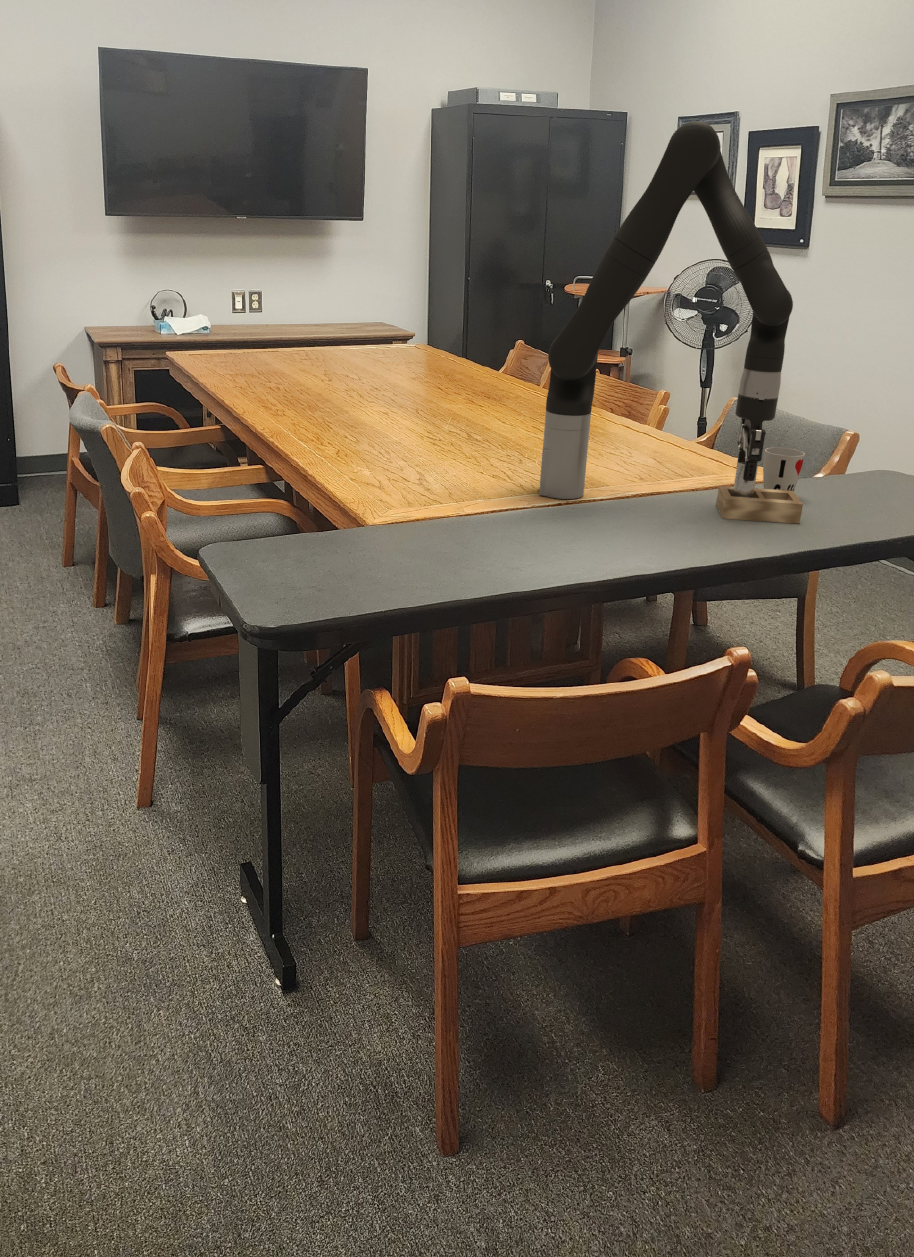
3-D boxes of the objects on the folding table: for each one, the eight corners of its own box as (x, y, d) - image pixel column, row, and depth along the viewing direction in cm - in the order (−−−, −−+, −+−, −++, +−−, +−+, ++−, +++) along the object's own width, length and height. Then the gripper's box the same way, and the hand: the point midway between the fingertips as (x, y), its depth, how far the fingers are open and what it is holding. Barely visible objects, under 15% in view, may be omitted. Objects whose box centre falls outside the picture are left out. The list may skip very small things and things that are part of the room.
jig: (722, 518, 210) (725, 498, 208) (716, 504, 219) (718, 485, 217) (799, 523, 208) (803, 504, 207) (789, 509, 218) (793, 490, 216)
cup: (770, 503, 221) (778, 456, 218) (750, 493, 229) (757, 447, 225) (804, 502, 223) (812, 455, 220) (783, 492, 231) (791, 446, 227)
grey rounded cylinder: (731, 514, 212) (739, 465, 208) (728, 509, 216) (736, 461, 212) (751, 516, 212) (759, 467, 208) (748, 510, 216) (756, 462, 212)
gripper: (733, 385, 211) (721, 465, 218) (744, 398, 198) (730, 482, 205) (771, 388, 211) (758, 467, 217) (785, 401, 198) (770, 485, 204)
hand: (745, 474), depth 211 cm, fingers open, 8 cm apart
